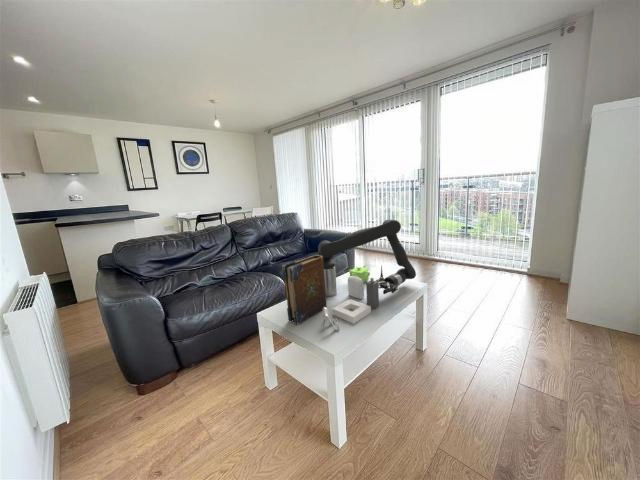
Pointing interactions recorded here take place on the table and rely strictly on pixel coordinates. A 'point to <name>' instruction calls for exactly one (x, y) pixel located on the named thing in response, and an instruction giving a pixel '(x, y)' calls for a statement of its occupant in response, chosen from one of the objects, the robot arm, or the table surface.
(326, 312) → the portable electronic device stand
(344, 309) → the socket
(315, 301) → the decorative book
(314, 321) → the table surface
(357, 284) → the photo printer
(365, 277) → the teapot
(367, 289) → the plug
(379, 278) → the eiffel tower figurine
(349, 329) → the table surface
